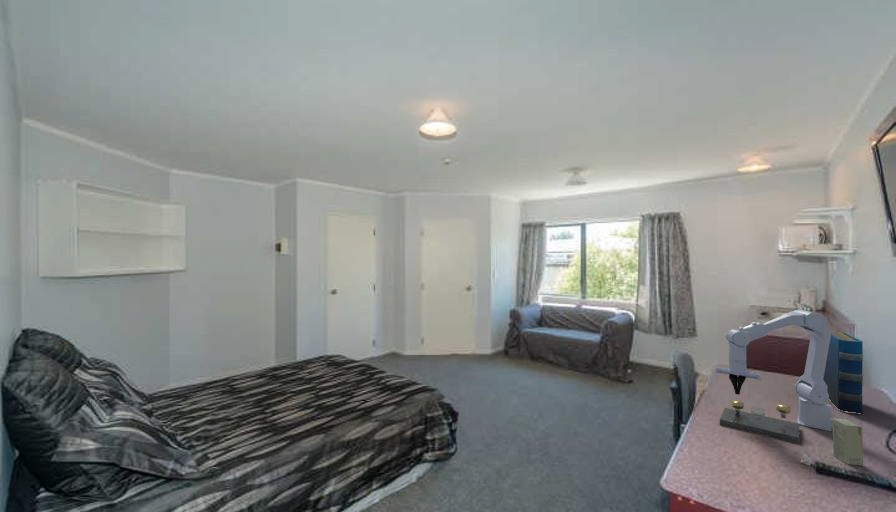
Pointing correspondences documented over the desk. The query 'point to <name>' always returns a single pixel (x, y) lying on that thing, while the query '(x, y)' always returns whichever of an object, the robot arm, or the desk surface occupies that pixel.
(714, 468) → the desk surface
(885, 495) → the desk surface
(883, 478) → the desk surface
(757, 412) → the middle white knob
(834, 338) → the book
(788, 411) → the inner brass knob
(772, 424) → the plate
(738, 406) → the outer brass knob
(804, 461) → the adhesive hook
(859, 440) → the skincare box
